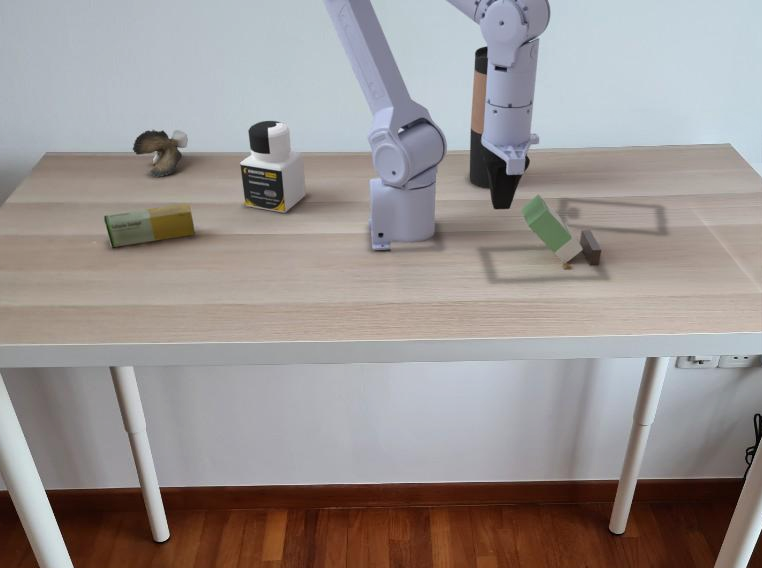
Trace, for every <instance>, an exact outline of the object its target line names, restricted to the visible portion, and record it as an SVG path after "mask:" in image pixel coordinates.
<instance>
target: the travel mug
mask: <svg viewBox="0 0 762 568" xmlns="http://www.w3.org/2000/svg"><path fill="white" fill-rule="evenodd" d="M487 55H488V47H487V45H486V46H482V47H479V48H477V49H476V50H475V52H474V68H473V69H474V70H473V71H474V72H473V84H472V85H473V86H472V100H471V117H470V136H469V137H470V138H469V139H470V141H469V142H470V143H469V150H470V151H469V181H470V183H471V184H473V185H475V186H476V187H479V188H484V189H490V185H489V177H488V172H487V167H486V164H485V162H484V159H483V157H482V154H481V150H482V149H486V147H484V146H483V145H482V143H481V140H482V135H483V133H484V117H485V101H486V86H487V69H488V58H487Z"/></svg>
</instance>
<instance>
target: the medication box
mask: <svg viewBox="0 0 762 568" xmlns="http://www.w3.org/2000/svg"><path fill="white" fill-rule="evenodd" d="M103 221H104V225H105V230H106V234H107V238H108V241H109V245H110V247H111V249H113V248H115V247H122V246H129V245H136V244H140V243H142V244H143V243H147V242H154V241H161V240H167V239H174V238H179V237H186V236H192V235H196V234H197V232H196V230H195V224H194V219H193V213H192V208H191V206H190V204H189V203H182V204H181V203H180V204H176V205H175V204H174V205H169V206H161V207H153V208H147V209H140V210H135V211H129V212H122V213H115V214H108V215H104V216H103Z"/></svg>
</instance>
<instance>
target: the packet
mask: <svg viewBox="0 0 762 568" xmlns="http://www.w3.org/2000/svg"><path fill="white" fill-rule="evenodd" d="M520 211H521V212H522V215H523V217H524V220H525V222H526V224H527V227H528V228H529V229H531V231H532V232H533V233H534V234H535V235H536V236H537V237H538V238H539V239H540V240H541V241H542V242H543V243H544V244H545V245H546V246H547V247H548V249H550V251H551V252H553V254H554V255H555V256H556V257H557V258H558V259H559V260H560V261H561V262H562V263H563V264H564V263H568V262H570V261H571V260H572V259H573V258H575V257H576V256H577V255H578V254H579V253H580V252H583V251H582V250H583V249H582V247H581V245H580V240H579V239H578V237H577V235H576V234H575V232H574V231H573V229H572V228H571V227H570V226H568V224H567V223H566V222H565V221H564V220H563V219H562V218H561V217H560V216H559V215H558V214H557V213H556V212H555V211H554V209H552V207H551V206H550V205H549V204H548V203H547V202H546V200H545V199H543V198H542V196H540V194H537V195H536V196H535V197H534V198H532V199H531V200H529V202H528V203H527V204H525V205H524V206H523V207H522V208H521V209H520Z"/></svg>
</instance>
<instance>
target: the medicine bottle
mask: <svg viewBox="0 0 762 568" xmlns="http://www.w3.org/2000/svg"><path fill="white" fill-rule="evenodd" d="M248 139H249V147H250V154H251V155H249V156H247V157H246V158H244V159H243V160H241V162H240V163H239V165H240V173H241V180H242V189H243V197H244V204H245V206H246V207H249V208H254V209H260V210H266V211H271V212H276V213H277V212H278V213H282V214H286V213H287V212H288V211H289V210H290V209H292V208H293V207H294V206H296V204H297V203H299V202H300V201H301V200H302V199H304V198H305V197H306V194H307V192H306V180H305V179H306V178H305V166H304V154H303V153H302V152H299V151H294V150H292V147H291V135H290V127H289V126H288V125H287V124H286V123H284V122H280V121H277V120H265V121H264V120H263V121H259V122H256V123H254V124H253V125H250V127H249V129H248Z"/></svg>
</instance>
